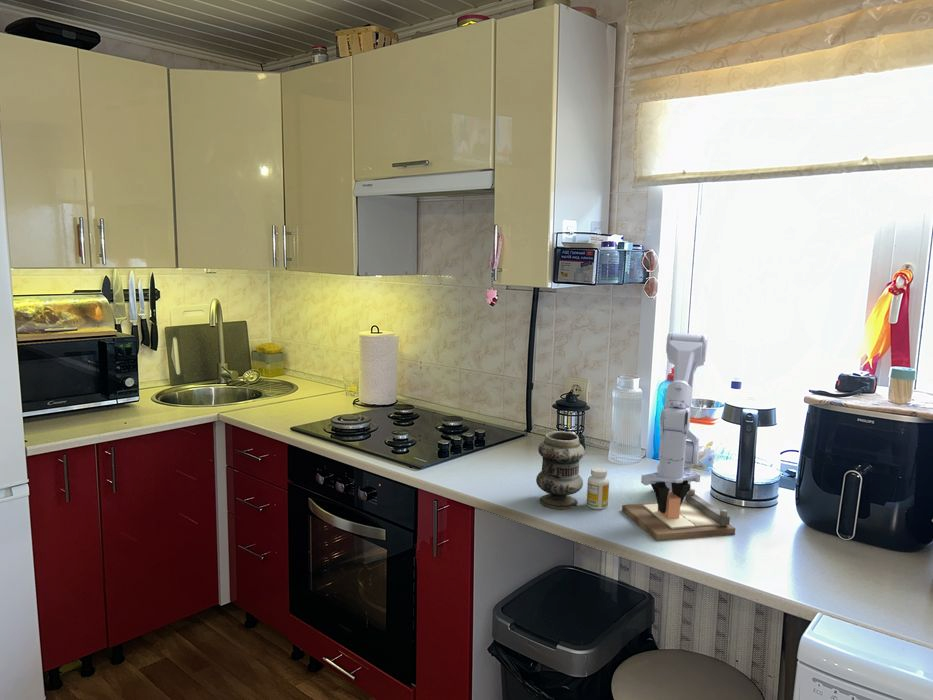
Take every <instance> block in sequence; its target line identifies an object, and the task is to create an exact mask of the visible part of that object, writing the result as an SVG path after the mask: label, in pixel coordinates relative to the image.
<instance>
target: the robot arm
mask: <svg viewBox="0 0 933 700" xmlns="http://www.w3.org/2000/svg"><path fill="white" fill-rule="evenodd" d="M665 348H666V349H665V352H666V357H667V360H668V363H670V364H672V365H673V381H672V382H670V383H669V384H668V385H667V390H666V395H665V401H664V408H662V409H661V411H660V415H659V429H660V433H659V435H660V441H659V447H658V459H659V463H658V464H657V468H656V472H651V473H649V474H642V475H641V478H640V479H641V481H640V483H641V484H643V485H644V486H649V485H651V487H652V490H653V492H654V496H655V498H656V502H657V503H658V510H659V511H660V512H661V513H665V511H666V501H667V496H668V493H669V491H671V492H672V493H674V494H675V495H677V496H678V497H679V498H681V501H680V506H681V504H682V501H685V497H686V494H687V493H688V491H689V490H690V489H691V487H692V485H691V483H692V482H695V483H700V482H701V474H700V473H699V472H697V471H693V466H696V465H697V464H698V461H699V451H700V438H699V436H698V434H697V433H695V432H694V431H693V430H692V429H691V427H690V426H691V424H690V423H691V412H692V399H693V390H694V389H693V388H694V376H695V372H696V371H697V368H698V367H702V366H704V365H705V362H706V357H707V351H708V350H707V348H708V336H707V334H704V333H703V334H700V333H699V334H698V333H685V332H684V333H683V332H673V331H669V333H668V334H667V338H666V347H665Z"/></svg>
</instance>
